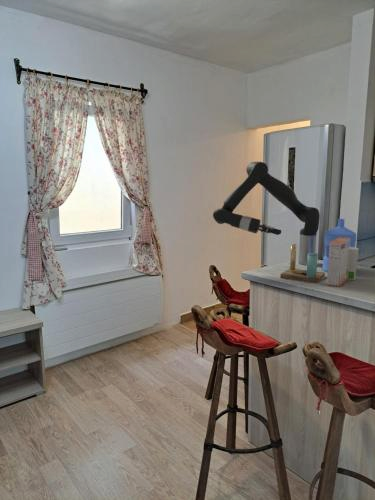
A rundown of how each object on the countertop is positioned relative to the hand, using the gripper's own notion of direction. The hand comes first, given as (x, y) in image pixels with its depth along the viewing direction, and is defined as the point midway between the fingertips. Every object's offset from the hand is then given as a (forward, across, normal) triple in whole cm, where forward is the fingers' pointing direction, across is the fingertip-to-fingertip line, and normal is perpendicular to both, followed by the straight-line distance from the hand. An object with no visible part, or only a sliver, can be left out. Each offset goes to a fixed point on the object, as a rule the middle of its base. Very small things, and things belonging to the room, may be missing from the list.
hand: (280, 232), depth 184 cm
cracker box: (+33, -5, +16) cm, 37 cm away
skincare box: (+37, +5, +14) cm, 40 cm away
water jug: (+33, +20, +13) cm, 41 cm away
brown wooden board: (+17, 0, +19) cm, 25 cm away
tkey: (+15, -1, +17) cm, 22 cm away
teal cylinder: (+21, -6, +16) cm, 27 cm away
